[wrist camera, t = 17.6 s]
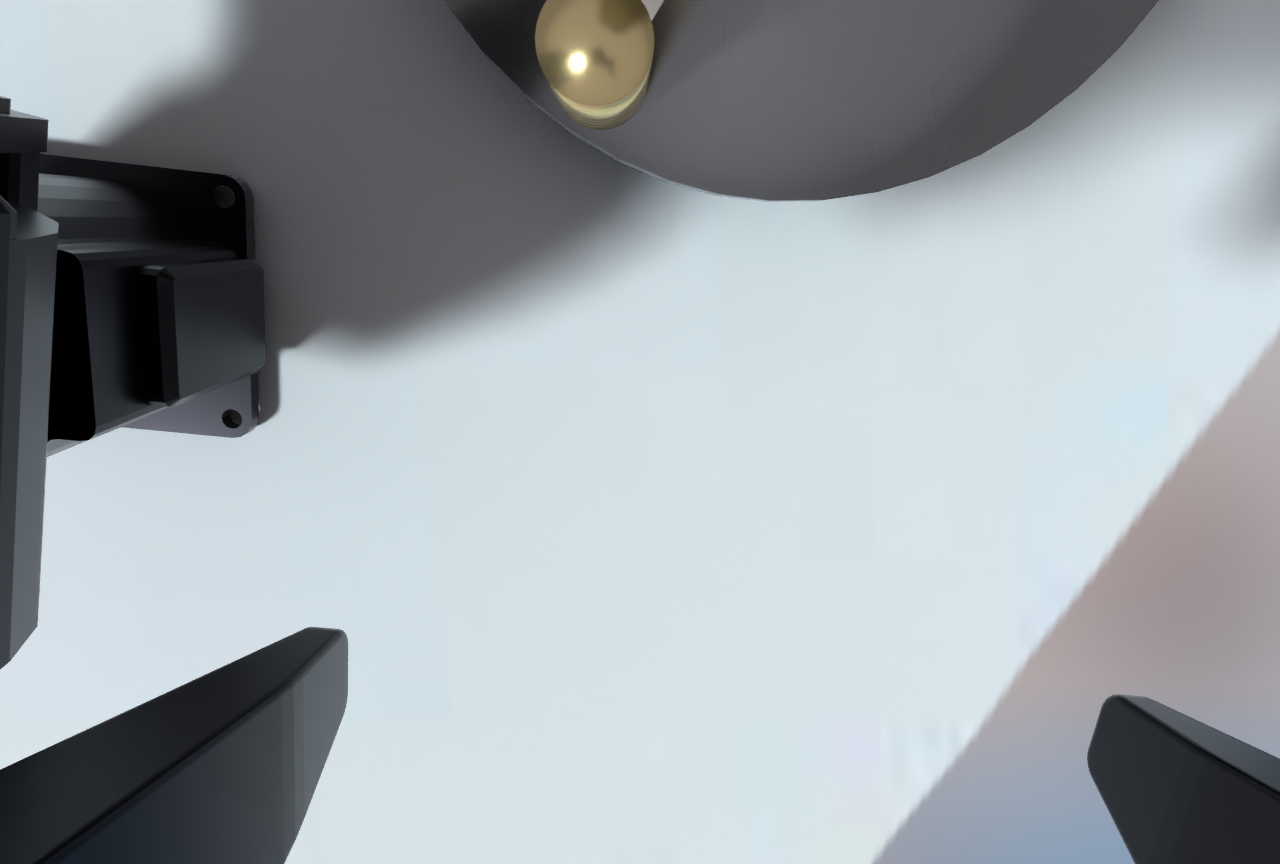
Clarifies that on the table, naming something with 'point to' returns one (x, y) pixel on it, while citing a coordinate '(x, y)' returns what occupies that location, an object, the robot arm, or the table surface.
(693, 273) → the table surface
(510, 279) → the table surface
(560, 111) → the turntable
